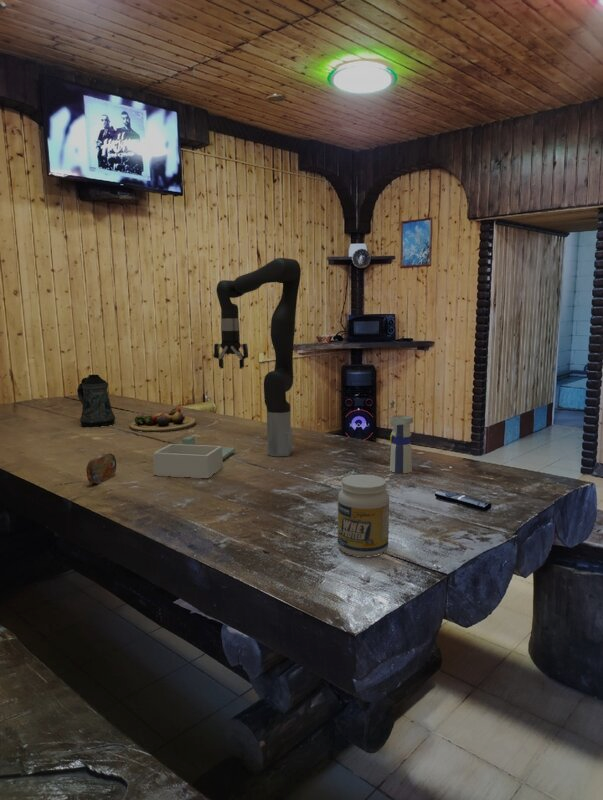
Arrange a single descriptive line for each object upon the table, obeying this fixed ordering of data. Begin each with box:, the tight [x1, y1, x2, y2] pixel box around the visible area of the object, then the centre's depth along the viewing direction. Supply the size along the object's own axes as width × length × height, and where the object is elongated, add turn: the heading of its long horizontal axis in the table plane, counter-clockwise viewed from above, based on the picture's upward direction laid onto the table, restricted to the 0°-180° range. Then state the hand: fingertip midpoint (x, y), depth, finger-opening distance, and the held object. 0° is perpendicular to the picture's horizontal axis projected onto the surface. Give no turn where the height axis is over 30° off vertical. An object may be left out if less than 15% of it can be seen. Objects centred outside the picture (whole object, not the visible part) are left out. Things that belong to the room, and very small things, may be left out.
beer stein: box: [76, 374, 116, 428], centre depth 286 cm, size 16×19×25 cm
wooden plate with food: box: [129, 406, 197, 433], centre depth 283 cm, size 32×32×8 cm
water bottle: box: [389, 399, 414, 474], centre depth 200 cm, size 8×9×25 cm
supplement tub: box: [336, 473, 390, 558], centre depth 136 cm, size 12×12×17 cm
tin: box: [85, 452, 117, 485], centre depth 194 cm, size 15×3×8 cm, turn 168°
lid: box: [181, 436, 237, 460], centre depth 224 cm, size 20×14×8 cm
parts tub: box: [152, 443, 224, 479], centre depth 203 cm, size 20×14×8 cm
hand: (231, 368), depth 240 cm, fingers open, 8 cm apart
